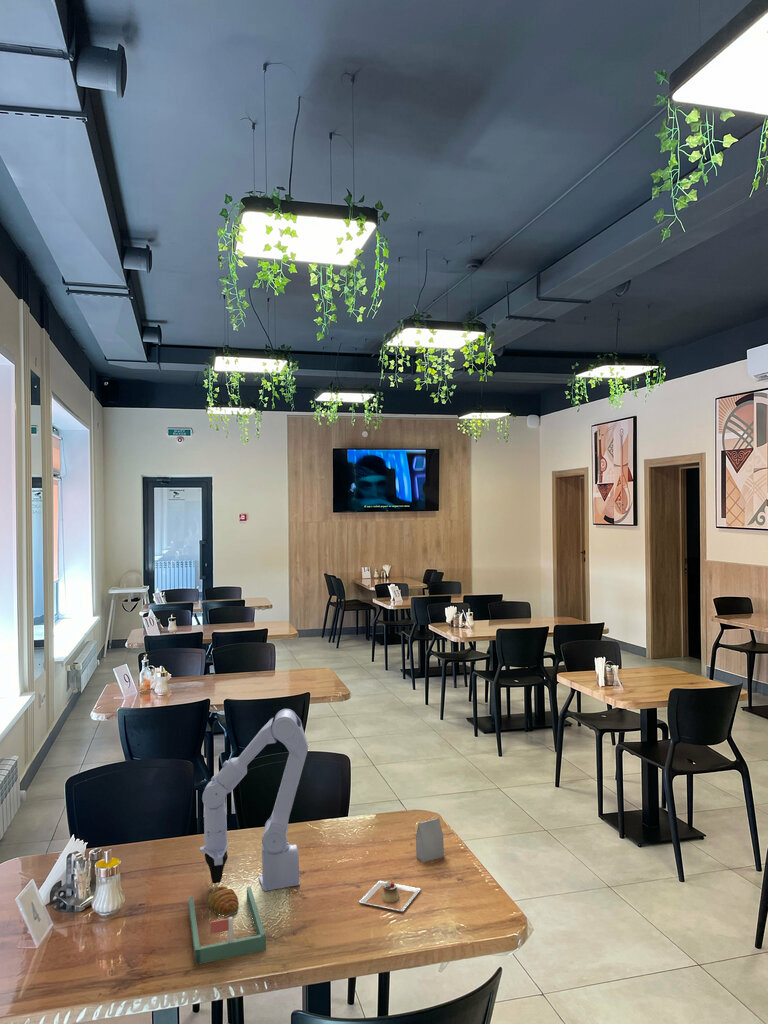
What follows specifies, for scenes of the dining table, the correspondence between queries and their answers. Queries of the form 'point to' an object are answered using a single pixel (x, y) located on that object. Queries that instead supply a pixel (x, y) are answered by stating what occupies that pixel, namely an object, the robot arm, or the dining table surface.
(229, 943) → the putting corral
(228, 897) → the pastry
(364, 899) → the dessert
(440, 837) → the grey tall block
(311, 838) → the dining table surface
